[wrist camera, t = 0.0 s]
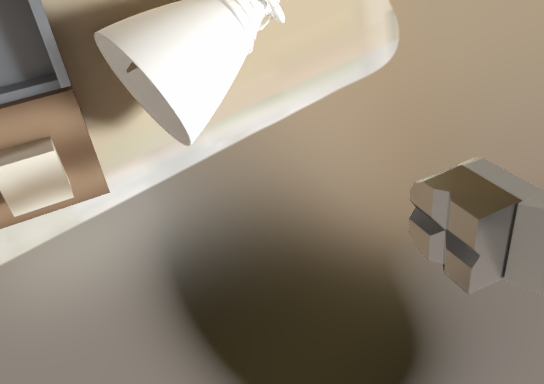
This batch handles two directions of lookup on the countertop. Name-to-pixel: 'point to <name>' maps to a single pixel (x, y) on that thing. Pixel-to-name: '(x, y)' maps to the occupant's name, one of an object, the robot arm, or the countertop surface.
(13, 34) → the box
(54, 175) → the tile
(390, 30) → the countertop surface
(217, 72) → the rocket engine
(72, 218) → the countertop surface
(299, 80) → the countertop surface
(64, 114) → the bench plate
